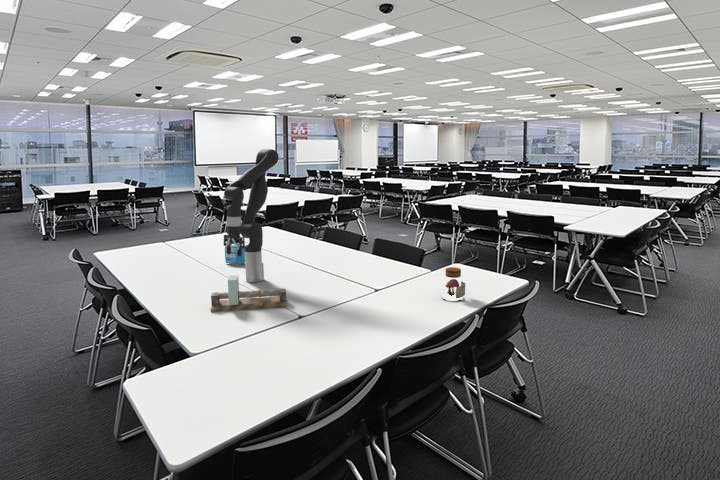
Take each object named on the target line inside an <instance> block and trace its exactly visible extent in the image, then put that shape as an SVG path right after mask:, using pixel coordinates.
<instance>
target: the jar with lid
mask: <svg viewBox="0 0 720 480" xmlns="http://www.w3.org/2000/svg"><path fill="white" fill-rule="evenodd" d="M445 277H447V278H451V279H449V281H447V282H446V284H445V287H446V288H447V289H448V290H447V292H446V294H449V295H451V296H452V295H454V294H456V298H460V297H464V296H465V295H466V282H464V281H461V282H460V283H459V281H458V280H457V279H458V278H461V277H462V269H461V268H459V267H455V266H454V267H447V268H445ZM454 288H456V289H455V290H454Z"/></svg>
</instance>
